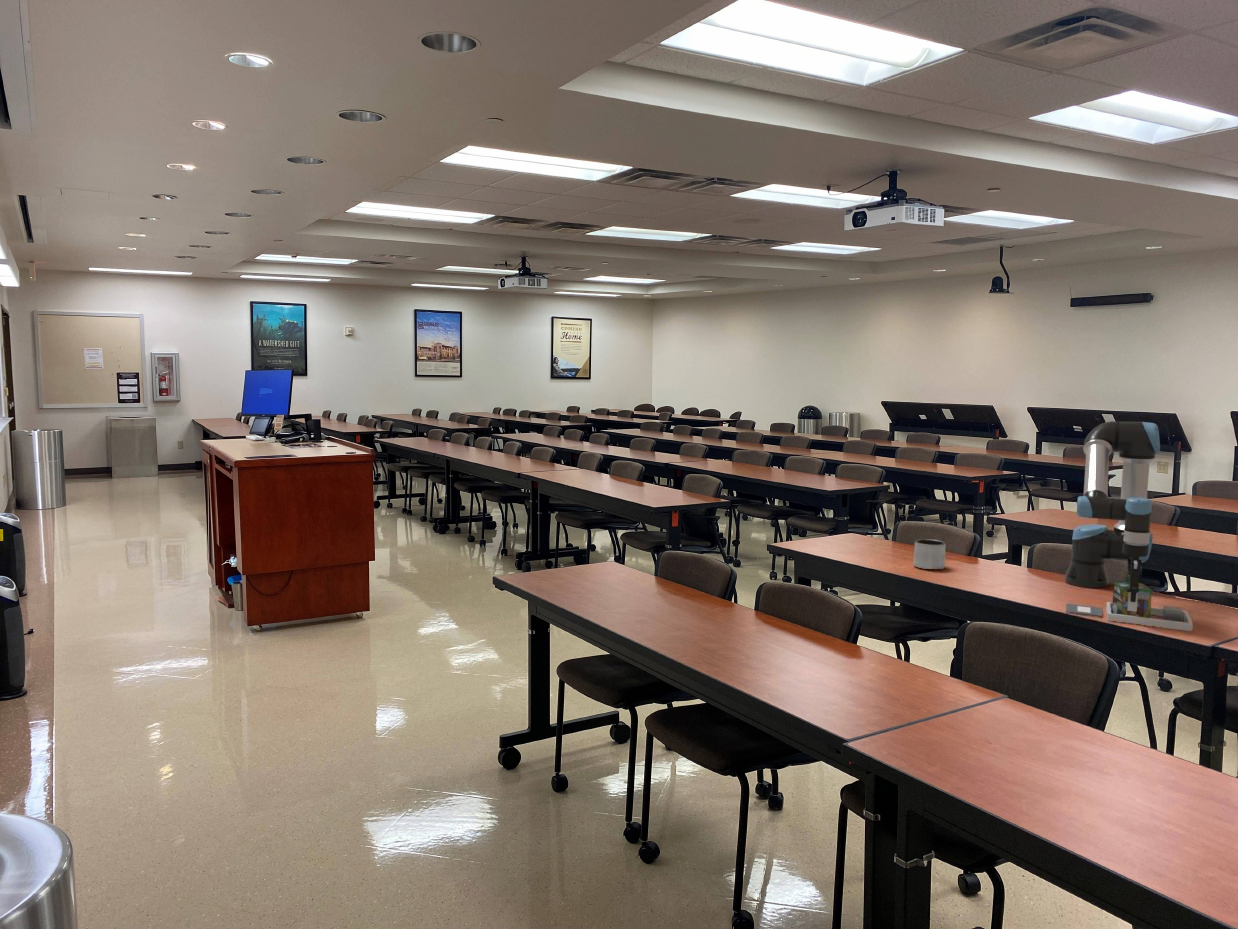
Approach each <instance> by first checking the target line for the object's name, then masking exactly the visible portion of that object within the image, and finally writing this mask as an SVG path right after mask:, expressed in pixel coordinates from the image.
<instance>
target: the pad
mask: <svg viewBox="0 0 1238 929" xmlns="http://www.w3.org/2000/svg"><path fill="white" fill-rule="evenodd" d="M1065 609H1066V610H1065V613H1066V612H1070V613H1077V614H1076V615H1078V614H1082V615H1081V616H1086V615H1091V616H1090V617H1094V616H1098V617H1097V618H1103V610H1102V607H1100V606H1093V605H1092V606H1091V605H1084V604H1083V605H1082V604H1076V603H1075V604H1074V603H1066V608H1065ZM1070 613H1069V614H1070Z"/></svg>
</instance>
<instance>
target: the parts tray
mask: <svg viewBox="0 0 1238 929" xmlns="http://www.w3.org/2000/svg"><path fill="white" fill-rule="evenodd" d="M1105 605H1106V607H1105V610H1106V620H1108V621H1107V622H1113V621H1116V622H1115V623H1121V622H1126V623H1125V624H1128V623H1134V624H1133V625H1136V624H1141V625H1140V626H1144V625H1146V626H1147V627H1152V626H1155V628H1160V627H1162V628H1163V629H1168V630H1169V629H1170V630H1179V631H1184V632H1193V626H1194V623H1193V620H1192V619H1191V617H1190V614H1189V612H1188V610H1187V611H1186V610H1182V620H1183V621H1182V622H1178V621H1170V620H1162V618H1161V619H1160V618H1153V617H1150V618H1145V617H1137V616H1129V615H1121V614H1113V613H1112V605H1113V601H1112V602H1111V601H1106V604H1105ZM1150 616H1156V617H1157V616H1158V617H1163V607H1153V606H1151V614H1150ZM1162 628H1161V629H1162Z"/></svg>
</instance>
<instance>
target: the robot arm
mask: <svg viewBox="0 0 1238 929" xmlns="http://www.w3.org/2000/svg"><path fill="white" fill-rule="evenodd" d="M1083 452H1084V455H1085V464H1084V465H1085V467H1084V468H1085V469H1084V484H1083V495H1082V496H1080V495H1079V496H1078V497H1077V502H1076V503H1077V504H1076V516H1077V517H1080V518H1087V519H1099V520H1112V521H1117V522H1116V523H1115V524H1114V525H1113V529H1108V526H1107V525H1104V524H1083V525H1077V526H1076V527H1075V528H1074V529H1073V531H1072V532H1073V533H1072V538H1071V539H1072V545H1071V556H1070V557H1071V559H1070V564H1069V567H1068V569H1067V570H1066V572H1065V574H1064V575H1065V576H1064V581H1065V583H1067V584H1069V585H1073V586H1076V587H1082V588H1088V589H1089V588H1090V589H1101V588H1102V589H1103V588H1107V587H1108V586H1109V582H1110V581H1109V577H1108V574H1107V570H1106V564H1105V562H1106V560H1110V561H1121V562H1127V574H1128V575H1130V588H1129V590H1127V592H1129V593H1128V607H1127V611H1136V612H1137V601H1138V592H1139V583H1140V574H1141V567H1142V563H1145V562H1147V561H1148V560H1149V557H1150V553H1151V551H1152V545H1153V540H1154V534H1153V533H1152V532H1151V531H1150V530H1151V520H1152V512H1153V505H1152V504H1153V503H1152V500H1151V499H1150V498H1148V491H1149V490H1148V487H1149V475H1150V466H1151V465H1150V464H1151V462H1152V461H1154V460H1155V458H1156V455H1159V454H1160V453H1161V442H1160V431H1159V427H1158V425H1157V424H1156V423H1154V422H1145V421H1114V420H1111V421H1106V422H1103V423H1101V424H1099V425H1097V426H1095V427H1094V428H1093V429H1092V430H1091V431H1090V432H1089V433H1088V434H1087V436H1086V437H1085V439H1084V442H1083ZM1112 452H1113V453H1118V458H1120V460H1122V462H1123V463H1122V476H1121V489H1120V498H1111V497H1108V495H1109V493H1108V491H1109V490H1108V489H1109V466H1110V465H1109V464H1110V455H1111V454H1112ZM1126 582H1129V581H1128V577H1127V576H1126Z"/></svg>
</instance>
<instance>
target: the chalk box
mask: <svg viewBox="0 0 1238 929" xmlns="http://www.w3.org/2000/svg"><path fill="white" fill-rule="evenodd" d="M1126 575H1127V576H1126V578H1127V577H1128V581H1129V582H1127V581H1113V591H1112V603H1113V605H1112V610H1111V613H1112V614H1121V615H1129V616H1137V617H1145V618H1151V615H1150V614H1151V607H1152V591H1153V590H1152V588H1151V587H1149V586H1147V585H1146V584H1144V583H1142V582H1139V592H1138V601H1137V612H1136V611H1127V607H1128V593H1129V592H1127V590H1129V588H1130V575H1128V573H1127V574H1126Z"/></svg>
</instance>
